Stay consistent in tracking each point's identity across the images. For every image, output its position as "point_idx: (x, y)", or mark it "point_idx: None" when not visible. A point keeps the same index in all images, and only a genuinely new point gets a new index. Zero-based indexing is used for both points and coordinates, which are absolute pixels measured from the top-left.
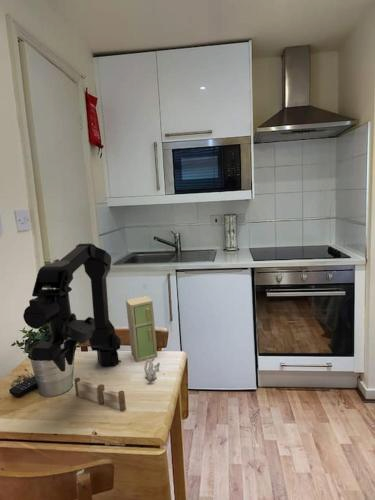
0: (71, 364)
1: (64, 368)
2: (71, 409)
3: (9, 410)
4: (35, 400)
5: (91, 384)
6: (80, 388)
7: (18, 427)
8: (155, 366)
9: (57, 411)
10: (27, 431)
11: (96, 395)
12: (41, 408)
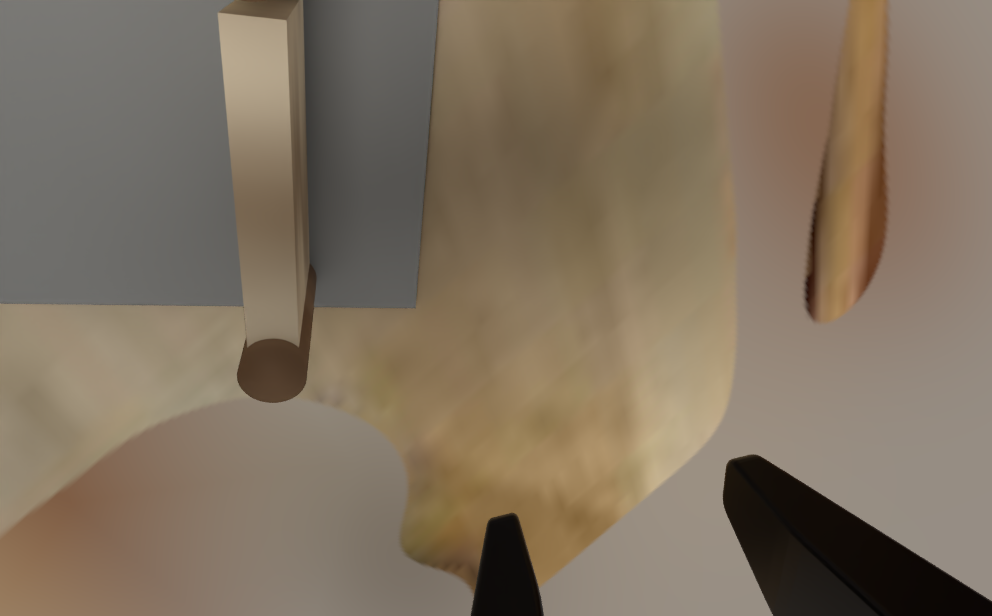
0: (517, 517)
1: (797, 491)
2: (457, 206)
3: (583, 528)
4: (459, 493)
5: (252, 152)
6: (302, 274)
7: (705, 379)
8: None
9: (513, 288)
10: (732, 306)
11: (295, 20)
12: (517, 404)
